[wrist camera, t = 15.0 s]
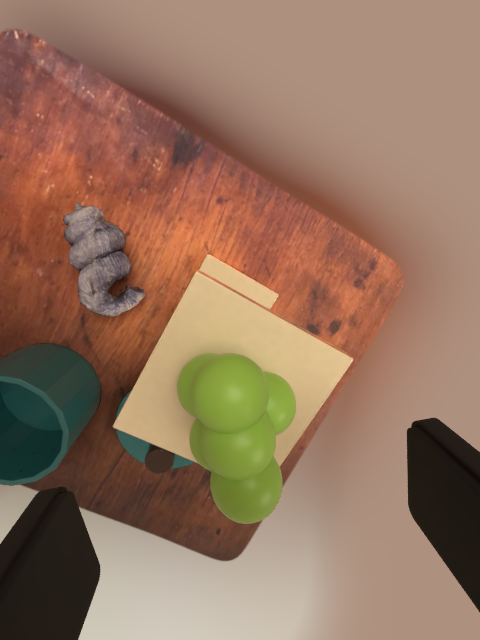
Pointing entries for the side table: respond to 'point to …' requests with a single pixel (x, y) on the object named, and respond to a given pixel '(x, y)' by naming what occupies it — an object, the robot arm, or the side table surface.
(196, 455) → the grapes
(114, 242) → the seashell
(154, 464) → the lid
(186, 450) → the pedestal
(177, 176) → the side table surface
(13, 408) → the pot
